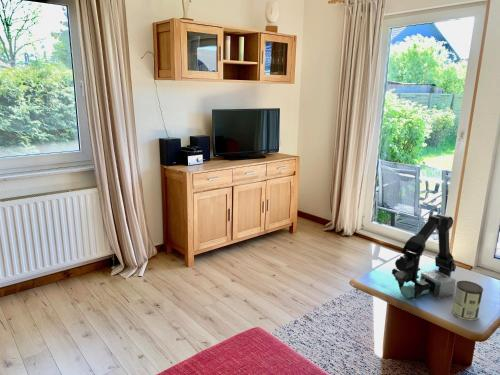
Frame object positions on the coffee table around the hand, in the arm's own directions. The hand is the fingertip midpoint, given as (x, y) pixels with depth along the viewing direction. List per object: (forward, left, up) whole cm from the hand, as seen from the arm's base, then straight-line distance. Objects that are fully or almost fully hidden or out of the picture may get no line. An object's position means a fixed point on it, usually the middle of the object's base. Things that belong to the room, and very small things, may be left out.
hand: (407, 294), depth 179 cm
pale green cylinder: (-4, 0, -1) cm, 5 cm away
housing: (-19, 0, -2) cm, 19 cm away
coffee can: (-14, +20, -2) cm, 24 cm away
